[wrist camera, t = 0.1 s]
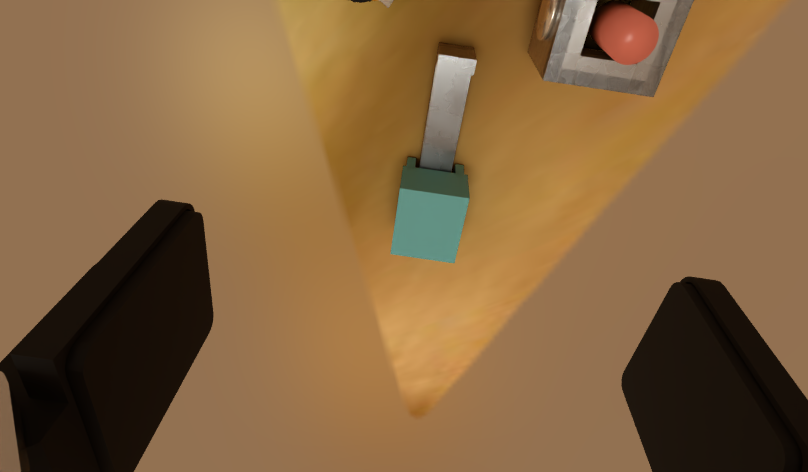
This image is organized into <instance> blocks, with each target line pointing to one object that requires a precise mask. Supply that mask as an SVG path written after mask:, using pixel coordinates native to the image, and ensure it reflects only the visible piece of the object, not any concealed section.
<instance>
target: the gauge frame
mask: <svg viewBox="0 0 808 472" xmlns="http://www.w3.org/2000/svg"><path fill="white" fill-rule="evenodd" d="M597 1H598V0H541V3H540V6H539V10H538V14H537V18H536V22H535V26H534V30H533V33H532V37H531V41H530V45H529V49H528V54H529V56H530V57H531V59H532V61H533V63H534V65H535V66H536V68H537V70H538V72H539V74H540V75H541V77H542V79H543V80H544V81H551V82H558V83H564V84H571V85H577V86H584V87H591V88H597V89H604V90H610V91H617V92H624V93H630V94H637V95H643V96H650V97H654V95H655V92H656V90H657V87H658V85H659V83H660V80H661V78H662V75H663V73H664V71H665V68H666V66H667V63H668V61H669V59H670V56H671V54H672V51H673V49H674V47H675V44H676V42H677V39H678V37H679V35H680V32H681V30H682V27H683V25H684V23H685V20H686V18H687V15H688V13H689V10H690V8H691V6H692V3H693V1H694V0H632V1H631V4H630V6H631V7H633V8H635V9H637V10H638V11H640V12H642V13H644V14H645V15H647V16H649V17H651V18H652V19H653V20H654V21H655V22H656V24H657V26H658V30H659V38H658V42H657V45H656V47H655V49H654V50H653V51H652V53H651V54H650V55H649V56H648V57H647V58H646V59H644V60H643V61H641V62H639V63H636V64H632V65H623V64H620V63H618V62H616V61H615V60H613V59H612V58H611V57H610V56H609V55H608V54H607V53H606V52H605V51H601V50H594V49H587V48H583V45H584V42H585V38H586V35H587V32H588V29H589V26H590V23H591V20H592V16H593V13H594V10H595V7H596V4H597Z"/></svg>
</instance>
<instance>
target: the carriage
mask: <svg viewBox="0 0 808 472" xmlns="http://www.w3.org/2000/svg"><path fill="white" fill-rule="evenodd" d="M415 164H416V158H412V157H408V159H407V166H403V171H402V178H401V185H400V191H399V198H398V205H397V212H396V219H395V226H394V233H393V240H392V247H391V254H394V255H401V256H408V257H415V258H421V259H428V260H435V261H442V262H449V263H455V258H456V254H457V250H458V246H459V241H460V237H461V233H462V229H463V224H464V220H465V216H466V211H467V207H468V203H469V199H470V198H469V186H468V175H464V165H459V164H455V168H454V173H450V172H443V171H437V170H430V169H423V168H416V167H415Z"/></svg>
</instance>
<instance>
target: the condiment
mask: <svg viewBox="0 0 808 472" xmlns="http://www.w3.org/2000/svg"><path fill="white" fill-rule="evenodd" d="M351 1H353V2H360V3H361V2H368V1H369V2H370V1H376V0H351ZM379 1H381V2H382V3H383V4H384V5H385V6H387V7H388V8H389V6H390V5H391V3H392V2H393V0H379Z"/></svg>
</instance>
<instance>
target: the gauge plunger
mask: <svg viewBox="0 0 808 472" xmlns="http://www.w3.org/2000/svg"><path fill="white" fill-rule="evenodd" d="M589 34H590V36H591V38H592V40H593V41H594V42H595V43H596V44H597V45H598V46H600V47H601V48H602V49H603V50H604V51H605V52H606V53H607V54H608V55H609V56H610V57H611V58H612V59H613V60H615V61H616V62H618V63H620V64H623V65H632V64H636V63H639V62H641V61H643V60H644V59H646V58H647V57H648V56H649V55H650V54H651V53H652V51H653V50H654V49H655V47H656V45H657V42H658V38H659V30H658V26H657V24H656V22H655V21H654V20H653V19H652V18H651V17H649V16H647V15H645V14H644V13H642V12H640V11H638V10H637V9H635V8H633V7H631V6H630V5H628V4H626V3H624V2H622V1H617V0H615V1H609V2H606V3H604V4H602V5H601V6H600V7H598V8H597V9H596V10H595V12H594V13H593V16H592V20H591V23H590V26H589Z"/></svg>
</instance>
